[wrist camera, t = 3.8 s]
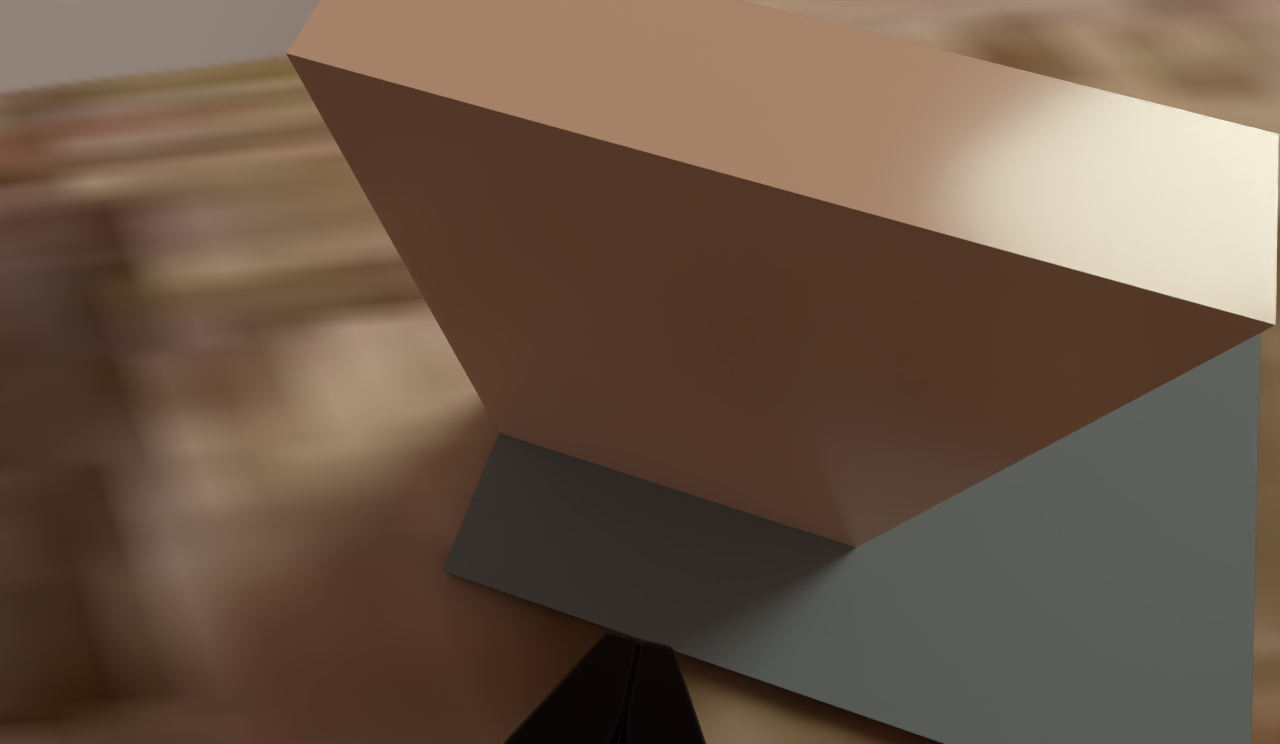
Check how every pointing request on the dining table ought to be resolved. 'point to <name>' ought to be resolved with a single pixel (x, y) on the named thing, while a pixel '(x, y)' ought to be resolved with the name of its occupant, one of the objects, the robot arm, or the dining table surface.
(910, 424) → the tile
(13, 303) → the dining table surface
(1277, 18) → the dining table surface
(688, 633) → the mat
